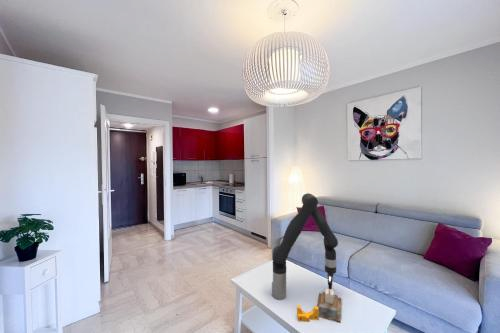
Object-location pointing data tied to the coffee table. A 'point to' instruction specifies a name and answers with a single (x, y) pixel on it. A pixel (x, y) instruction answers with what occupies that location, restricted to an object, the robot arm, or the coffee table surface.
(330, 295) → the white cube with stick
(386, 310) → the coffee table surface
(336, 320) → the gauge board
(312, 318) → the pipe clamp
